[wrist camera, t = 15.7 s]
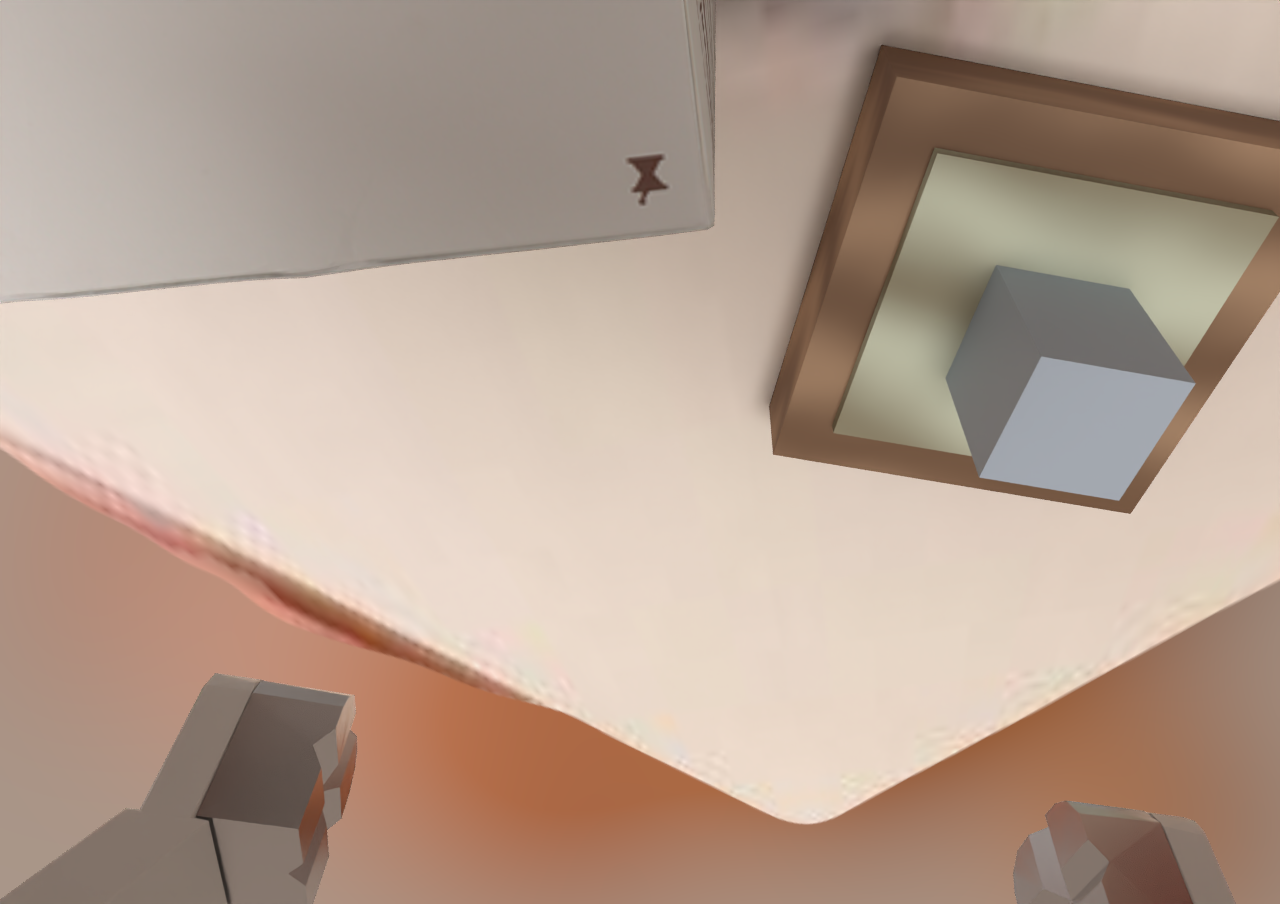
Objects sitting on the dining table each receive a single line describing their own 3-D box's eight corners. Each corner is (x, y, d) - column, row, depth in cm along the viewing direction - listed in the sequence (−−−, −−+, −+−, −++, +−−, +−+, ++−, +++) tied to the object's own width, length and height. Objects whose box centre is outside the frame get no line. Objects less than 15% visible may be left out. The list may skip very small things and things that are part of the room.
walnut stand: (881, 45, 33) (899, 81, 30) (1312, 127, 34) (1372, 171, 31) (769, 406, 43) (773, 461, 40) (1104, 463, 44) (1134, 521, 41)
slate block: (996, 264, 34) (1041, 356, 29) (1129, 288, 34) (1195, 383, 30) (945, 378, 37) (979, 477, 32) (1068, 399, 37) (1118, 500, 33)
